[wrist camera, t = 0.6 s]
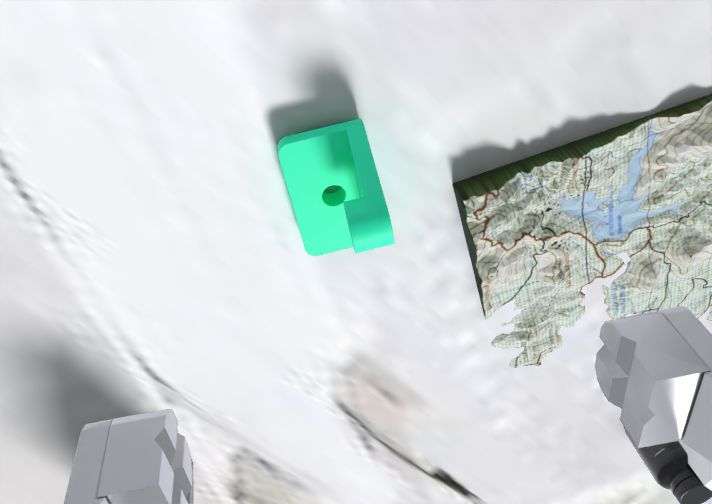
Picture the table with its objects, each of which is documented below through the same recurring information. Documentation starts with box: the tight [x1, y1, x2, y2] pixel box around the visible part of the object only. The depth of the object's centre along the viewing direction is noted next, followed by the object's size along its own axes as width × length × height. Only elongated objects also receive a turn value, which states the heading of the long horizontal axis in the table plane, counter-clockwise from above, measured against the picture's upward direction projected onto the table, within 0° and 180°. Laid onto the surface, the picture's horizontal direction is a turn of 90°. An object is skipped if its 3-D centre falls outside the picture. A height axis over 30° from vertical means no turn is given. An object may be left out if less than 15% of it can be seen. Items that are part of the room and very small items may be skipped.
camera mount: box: [277, 118, 394, 256], centre depth 55 cm, size 12×8×10 cm, turn 10°
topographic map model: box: [453, 94, 712, 368], centre depth 70 cm, size 36×29×5 cm
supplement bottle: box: [625, 428, 712, 504], centre depth 84 cm, size 7×7×12 cm
